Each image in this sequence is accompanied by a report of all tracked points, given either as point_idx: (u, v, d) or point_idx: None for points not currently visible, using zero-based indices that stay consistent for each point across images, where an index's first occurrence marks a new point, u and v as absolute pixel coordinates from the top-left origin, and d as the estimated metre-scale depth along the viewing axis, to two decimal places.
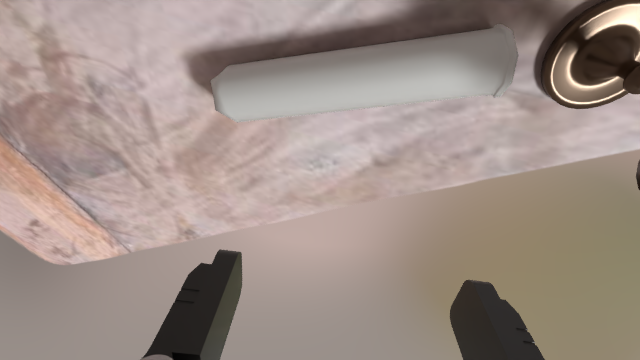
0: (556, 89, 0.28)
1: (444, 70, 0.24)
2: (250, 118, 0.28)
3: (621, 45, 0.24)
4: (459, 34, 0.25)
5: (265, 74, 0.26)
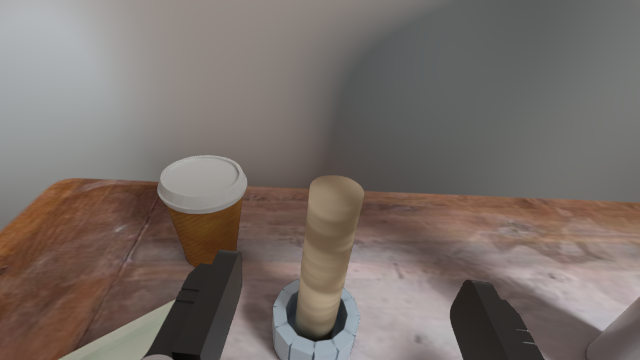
0: None
1: None
2: None
3: None
4: None
5: None
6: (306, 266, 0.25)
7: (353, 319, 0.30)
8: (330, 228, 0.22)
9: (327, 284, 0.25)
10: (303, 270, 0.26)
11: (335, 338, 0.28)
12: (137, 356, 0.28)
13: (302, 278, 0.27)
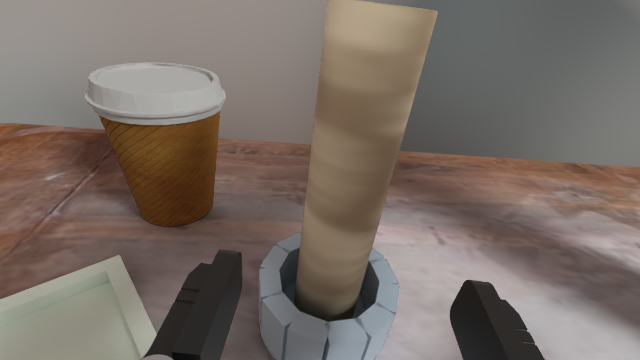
0: None
1: None
2: None
3: None
4: None
5: None
6: (316, 178, 0.14)
7: (389, 288, 0.19)
8: (371, 72, 0.11)
9: (354, 211, 0.14)
10: (311, 190, 0.15)
11: (362, 316, 0.17)
12: (24, 346, 0.16)
13: (308, 207, 0.15)
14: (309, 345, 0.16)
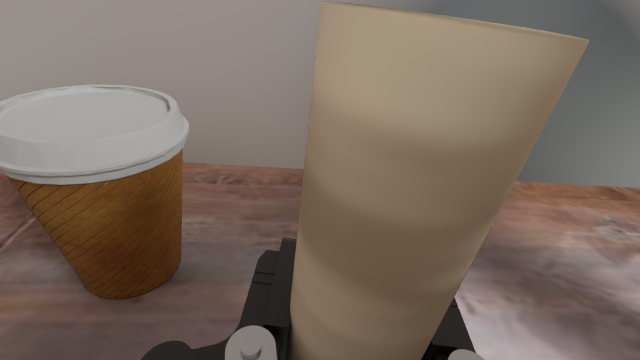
0: None
1: None
2: None
3: None
4: None
5: None
6: (301, 331, 0.08)
7: None
8: (425, 188, 0.04)
9: None
10: (294, 339, 0.08)
11: None
12: None
13: (291, 359, 0.09)
14: None
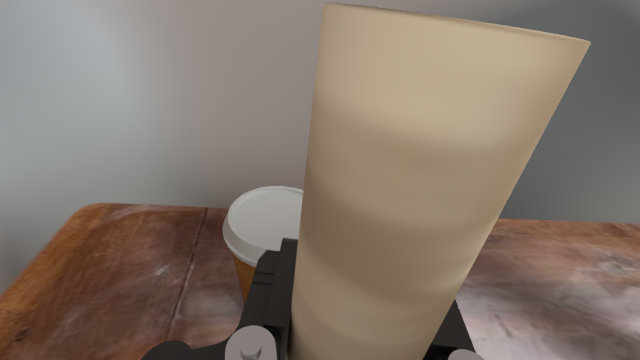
0: None
1: None
2: None
3: None
4: None
5: None
6: (303, 332, 0.08)
7: None
8: (427, 189, 0.04)
9: None
10: (295, 340, 0.08)
11: None
12: None
13: None
14: None
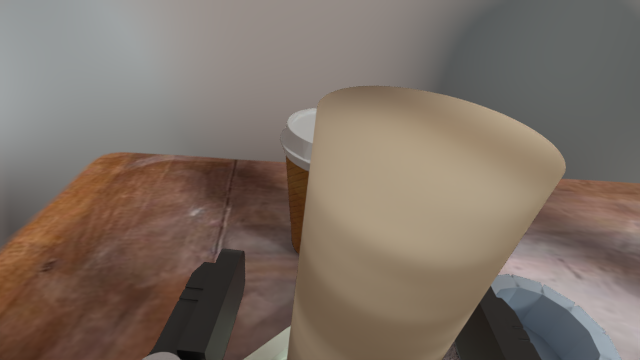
0: None
1: None
2: None
3: None
4: None
5: None
6: None
7: (602, 339, 0.20)
8: (411, 295, 0.05)
9: None
10: None
11: None
12: None
13: None
14: None
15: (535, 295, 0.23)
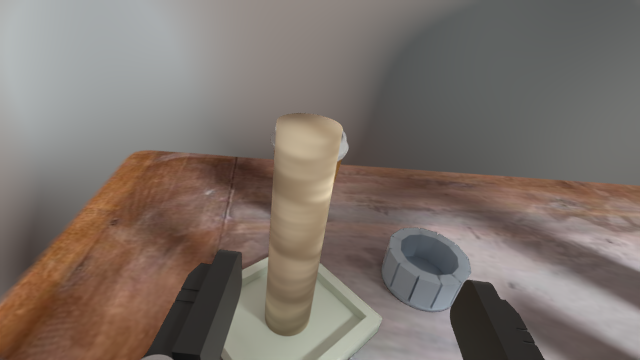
0: None
1: None
2: None
3: None
4: None
5: None
6: (274, 225, 0.21)
7: (463, 260, 0.33)
8: (301, 169, 0.18)
9: (299, 247, 0.21)
10: (271, 232, 0.22)
11: (454, 273, 0.31)
12: None
13: (271, 243, 0.22)
14: (430, 287, 0.30)
15: (431, 239, 0.35)
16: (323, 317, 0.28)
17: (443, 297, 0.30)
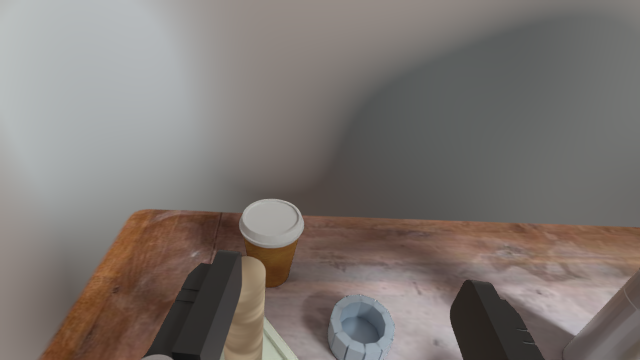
0: None
1: None
2: None
3: None
4: None
5: None
6: None
7: (390, 327, 0.41)
8: None
9: (241, 347, 0.29)
10: None
11: (378, 341, 0.39)
12: None
13: None
14: (357, 354, 0.38)
15: (369, 305, 0.44)
16: None
17: None
